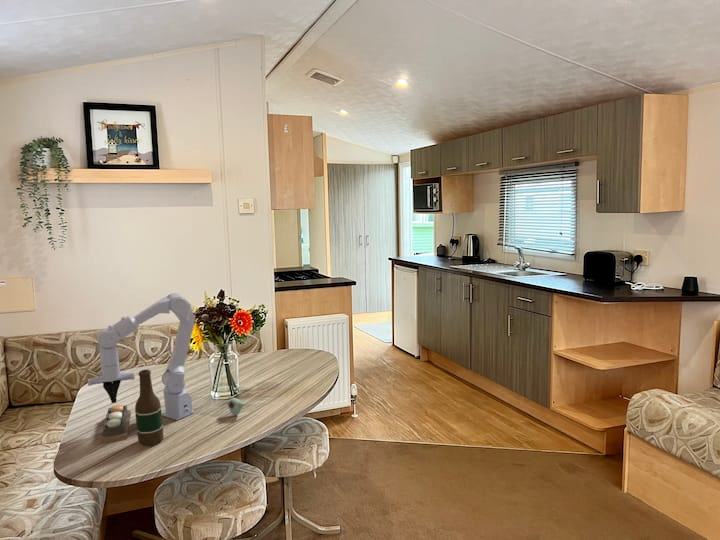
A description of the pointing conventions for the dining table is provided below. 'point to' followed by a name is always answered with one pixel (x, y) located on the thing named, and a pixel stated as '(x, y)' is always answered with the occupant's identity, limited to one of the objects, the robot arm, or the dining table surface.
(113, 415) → the cream button
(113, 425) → the sage button
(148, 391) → the beer bottle
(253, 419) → the dining table surface
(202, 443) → the dining table surface
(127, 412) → the button panel
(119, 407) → the terracotta button
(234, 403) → the robot head
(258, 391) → the dining table surface
